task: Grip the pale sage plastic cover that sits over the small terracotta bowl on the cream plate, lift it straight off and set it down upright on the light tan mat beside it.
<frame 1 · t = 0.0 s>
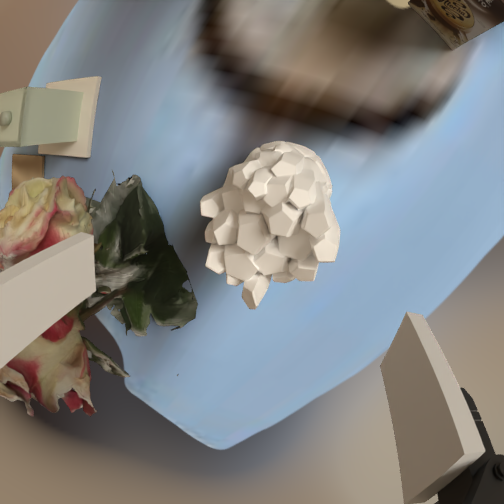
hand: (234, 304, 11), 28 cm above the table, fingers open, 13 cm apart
tan mat: (27, 195, 45), on the table
decorative vase: (286, 184, 37), on the table
sage cover: (63, 117, 38), point 1 cm above the table, touching cream plate
coffee box: (441, 19, 24), on the table
rose bouquet: (111, 259, 46), on the table
cream plate: (67, 117, 39), on the table
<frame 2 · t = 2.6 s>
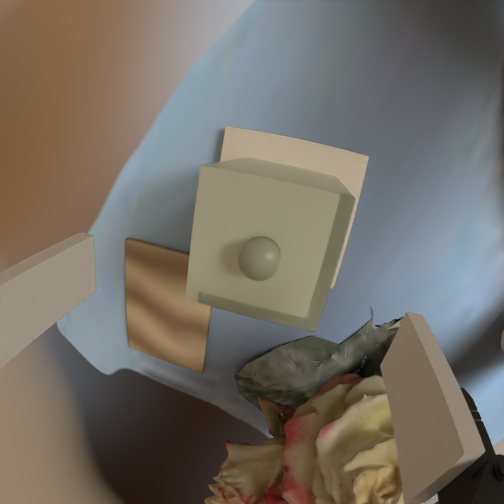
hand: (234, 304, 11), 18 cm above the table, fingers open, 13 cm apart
tan mat: (166, 309, 35), on the table
sage cover: (282, 208, 27), point 1 cm above the table, touching cream plate
rose bouquet: (330, 398, 35), on the table
cream plate: (283, 206, 28), on the table
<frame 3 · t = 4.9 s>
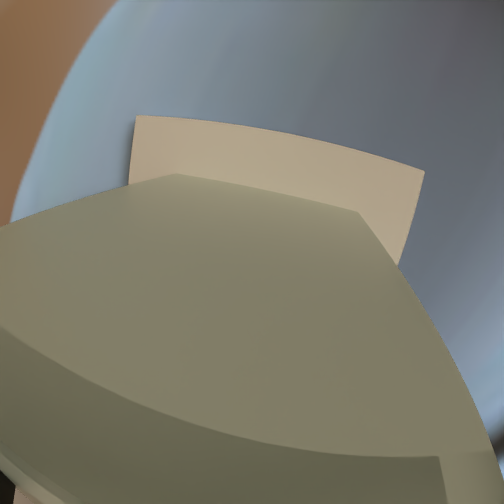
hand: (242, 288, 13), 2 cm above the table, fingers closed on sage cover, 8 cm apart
sage cover: (247, 276, 14), point 1 cm above the table, touching cream plate, gripper
cream plate: (251, 267, 15), on the table
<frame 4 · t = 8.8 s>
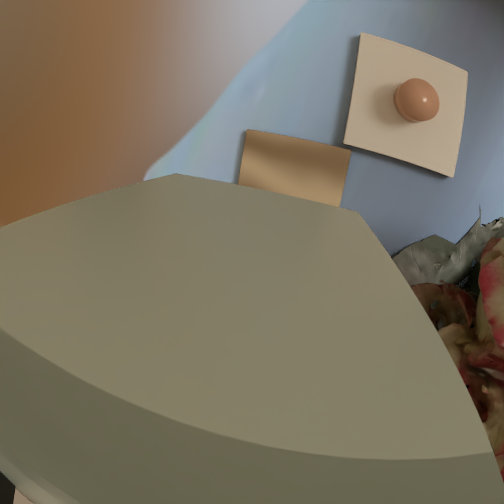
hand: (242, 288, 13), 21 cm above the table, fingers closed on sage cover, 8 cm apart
tan mat: (285, 211, 32), on the table
sage cover: (247, 276, 14), point 20 cm above the table, touching gripper
rose bouquet: (441, 313, 33), on the table
cream plate: (409, 103, 26), on the table
when the fingers open (4 cm above the table, at t = 12.9 s): sage cover drops 2 cm, resting on tan mat.
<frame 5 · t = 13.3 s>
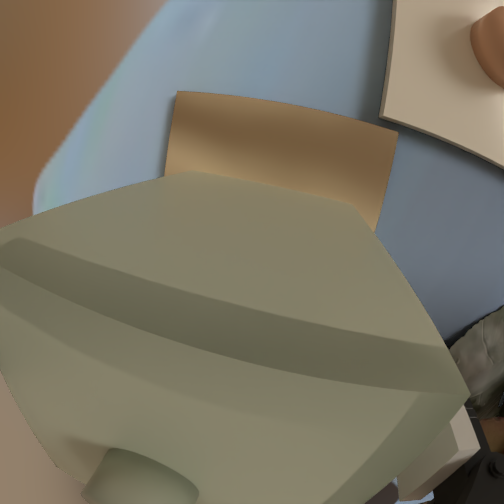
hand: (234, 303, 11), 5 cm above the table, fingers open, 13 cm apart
tan mat: (257, 257, 16), on the table
sage cover: (255, 261, 15), point 1 cm above the table, touching tan mat
rose bouquet: (496, 400, 17), on the table
cream plate: (492, 57, 9), on the table
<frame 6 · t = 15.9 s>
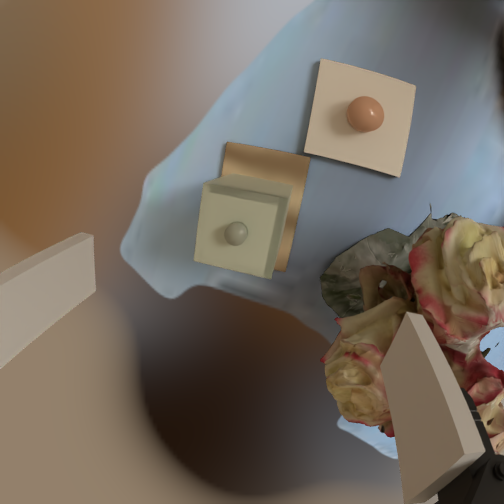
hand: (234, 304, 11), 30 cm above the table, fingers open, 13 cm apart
tan mat: (257, 207, 40), on the table
sage cover: (257, 208, 40), point 1 cm above the table, touching tan mat
rose bouquet: (400, 297, 41), on the table
cream plate: (361, 116, 34), on the table
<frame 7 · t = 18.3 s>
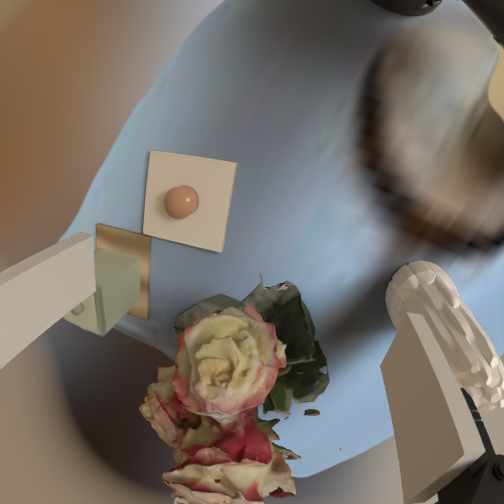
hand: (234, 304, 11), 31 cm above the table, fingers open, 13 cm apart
tan mat: (122, 272, 49), on the table
decorative vase: (416, 292, 41), on the table
sage cover: (121, 273, 49), point 1 cm above the table, touching tan mat
rose bouquet: (246, 348, 50), on the table
cream plate: (187, 199, 43), on the table
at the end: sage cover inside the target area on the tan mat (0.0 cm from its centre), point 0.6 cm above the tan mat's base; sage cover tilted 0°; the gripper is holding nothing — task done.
